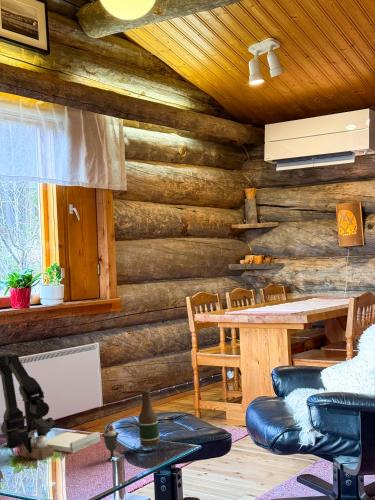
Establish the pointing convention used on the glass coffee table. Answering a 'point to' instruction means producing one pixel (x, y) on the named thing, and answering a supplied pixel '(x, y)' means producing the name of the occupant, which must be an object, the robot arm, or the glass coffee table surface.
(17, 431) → the robot arm
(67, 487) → the glass coffee table surface
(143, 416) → the beer bottle
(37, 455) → the glass caddy
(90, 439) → the cream flat block
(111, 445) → the sundae
